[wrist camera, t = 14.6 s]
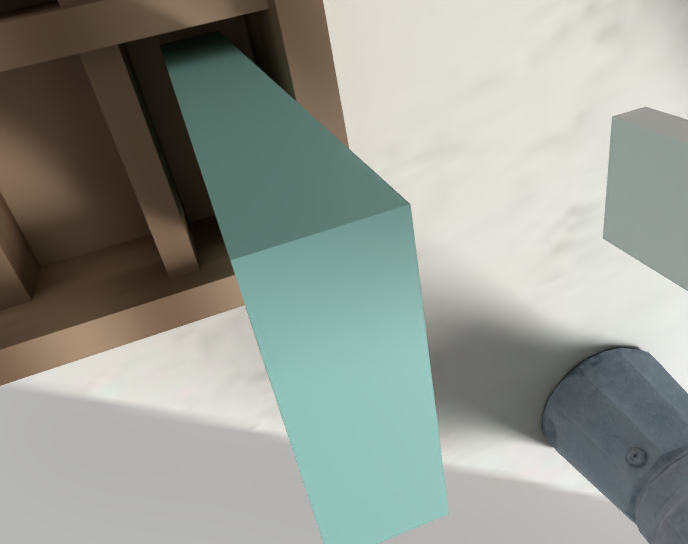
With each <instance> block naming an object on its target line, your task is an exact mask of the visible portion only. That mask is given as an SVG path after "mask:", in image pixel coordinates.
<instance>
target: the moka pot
mask: <svg viewBox="0 0 688 544" xmlns="http://www.w3.org/2000/svg"><path fill="white" fill-rule="evenodd" d="M543 433H544V436H545V437H546V439H547V440H548V441H549V442H550V444H551V445H552V446H553V447H554V448H555V449H556V451H557V452H558V453H559V454H560V455H562V456H563V457H564V458H565V459H566V460H567V461H568V462H569V463H570V464H571V465H572V466H573V467H574V468H576V469H577V470H578V471H579V472H580V473H581V474H582V475H583V476H584V477H585V478H586V479H587V480H588V481H590V482H591V483H592V484H593V485H594V486H595V487H596V488H597V489H598V490H599V491H600V492H601V493H603V494H604V495H605V496H606V497H607V498H608V499H609V500H610V501H611V502H612V503H613V504H614V505H615V506H617V507H618V508H619V509H620V510H621V511H622V512H623V513H624V514H625V515H626V516H627V517H628V518H629V519H630V520H632V521H633V522H634V523H635V524H636V525H637V526H638V528H639V531H640V533H641V534H642V535H643V536H644V538H645V539H646V540H647V541H648V543H649V544H688V394H687V392H686V391H685V390H684V389H683V388H682V387H681V386H680V385H679V384H678V383H677V382H676V381H675V380H674V379H673V378H672V376H671V375H670V374H669V373H668V372H667V371H666V370H665V369H664V368H663V367H662V365H661V364H660V363H659V362H658V361H657V360H656V359H655V358H654V357H653V356H652V355H651V354H650V353H648V352H645V351H642V350H638V349H629V348H622V347H621V348H618V349H612V350H608V351H604V352H602V353H599V354H597V355H595V356H593V357H590V358H589V359H587V360H585V361H583V362H582V363H580V364H579V365H577V366H576V367H575V368H574V369H573V370H572V371H571V372H570V373H569V374H568V375H566V376H565V377H564V378H563V380H562V381H561V382H560V383H559V384H558V385H557V387H556V388H555V390H554V391H553V393H552V394H551V396H550V398H549V400H548V402H547V405H546V408H545V411H544V414H543Z"/></svg>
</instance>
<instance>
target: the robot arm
mask: <svg viewBox="0 0 688 544" xmlns="http://www.w3.org/2000/svg"><path fill="white" fill-rule="evenodd" d="M603 239H605V240H606V241H608V242H610V243H611V244H613V245H614V246H616V247H618V248H619V249H621V250H623V251H624V252H626V253H627V254H629V255H631V256H632V257H634V258H635V259H637V260H639V261H640V262H642V263H643V264H645V265H647V266H648V267H650V268H652V269H653V270H655V271H656V272H658V273H660V274H661V275H663V276H664V277H666V278H668V279H669V280H671V281H673V282H674V283H676V284H677V285H679V286H681V287H682V288H684V289H685V290H687V291H688V120H687V119H683V118H680V117H677V116H674V115H670V114H667V113H664V112H661V111H658V110H654V109H651V108H648V107H643V108H640V109H636V110H633V111H630V112H626V113H623V114H620V115H616V116H613V117H612V125H611V139H610V152H609V165H608V178H607V191H606V204H605V217H604V231H603Z"/></svg>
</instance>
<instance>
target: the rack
mask: <svg viewBox="0 0 688 544" xmlns="http://www.w3.org/2000/svg"><path fill="white" fill-rule="evenodd" d="M215 31H219V32H220V33H221V34H222V35H223V36H224V37H225V38H226V39H227V40H229V41H230V42H231V43H232V44H233V45H234V46H235V47H236V48H237V49H239V50H240V51H241V52H242V53H243V54H244V55H245V56H246V57H247V58H249V59H250V60H251V61H252V62H253V63H254V64H255V65H256V66H257V67H259V68H260V69H261V70H262V71H263V72H264V73H265V74H266V75H267V76H269V77H270V78H271V79H272V80H273V81H274V82H275V83H276V84H277V85H279V86H280V87H281V88H282V89H283V90H284V91H285V92H286V93H287V94H289V95H290V96H291V97H292V98H293V99H294V100H295V101H296V102H297V103H299V104H300V105H301V106H302V107H303V108H304V109H305V110H306V111H307V112H309V113H310V114H311V115H312V116H313V117H314V118H315V119H316V120H317V121H319V122H320V123H321V124H322V125H323V126H324V127H325V128H326V129H327V130H329V131H330V132H331V133H332V134H333V135H334V136H335V137H336V138H337V139H339V140H340V141H341V142H342V143H343V144H344V145H345V146H346V147H347V148H349V146H348V140H347V134H346V129H345V123H344V117H343V112H342V106H341V100H340V95H339V89H338V84H337V78H336V72H335V67H334V61H333V55H332V50H331V44H330V38H329V33H328V27H327V22H326V16H325V10H324V5H323V0H0V385H4V384H7V383H10V382H13V381H16V380H19V379H22V378H25V377H28V376H31V375H34V374H37V373H40V372H43V371H46V370H49V369H52V368H55V367H58V366H61V365H64V364H67V363H70V362H73V361H76V360H79V359H82V358H85V357H89V356H92V355H95V354H98V353H101V352H104V351H107V350H110V349H113V348H116V347H119V346H122V345H125V344H128V343H131V342H134V341H137V340H140V339H143V338H146V337H149V336H152V335H155V334H158V333H161V332H164V331H167V330H170V329H173V328H177V327H180V326H183V325H186V324H189V323H192V322H195V321H198V320H201V319H204V318H207V317H210V316H213V315H216V314H219V313H222V312H225V311H228V310H231V309H234V308H237V307H240V306H243V305H245V303H244V300H243V297H242V294H241V291H240V288H239V285H238V282H237V279H236V276H235V273H234V270H233V267H232V264H231V261H230V258H229V255H228V252H227V249H226V246H225V243H224V240H223V237H222V234H221V231H220V228H219V224H218V221H217V218H216V215H215V212H214V209H213V206H212V203H211V200H210V197H209V194H208V191H207V188H206V185H205V182H204V179H203V176H202V173H201V170H200V167H199V164H198V161H197V158H196V155H195V152H194V149H193V146H192V143H191V139H190V136H189V133H188V130H187V127H186V124H185V121H184V118H183V115H182V112H181V109H180V106H179V103H178V100H177V97H176V94H175V91H174V88H173V85H172V82H171V79H170V76H169V73H168V70H167V67H166V64H165V61H164V58H163V54H162V51H161V48H160V45H161V44H165V43H169V42H174V41H178V40H182V39H186V38H190V37H194V36H199V35H203V34H207V33H211V32H215Z"/></svg>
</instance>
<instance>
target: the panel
mask: <svg viewBox="0 0 688 544" xmlns="http://www.w3.org/2000/svg"><path fill="white" fill-rule="evenodd" d="M160 48H161V51H162V54H163V58H164V61H165V64H166V67H167V70H168V73H169V76H170V79H171V82H172V85H173V88H174V91H175V94H176V97H177V100H178V103H179V106H180V109H181V112H182V115H183V118H184V121H185V124H186V127H187V130H188V133H189V136H190V139H191V143H192V146H193V149H194V152H195V155H196V158H197V161H198V164H199V167H200V170H201V173H202V176H203V179H204V182H205V185H206V188H207V191H208V194H209V197H210V200H211V203H212V206H213V209H214V212H215V215H216V218H217V221H218V224H219V228H220V231H221V234H222V237H223V240H224V243H225V246H226V249H227V252H228V255H229V258H230V261H231V264H232V267H233V270H234V273H235V276H236V279H237V282H238V285H239V288H240V291H241V294H242V297H243V300H244V303H245V306H246V309H247V312H248V315H249V319H250V322H251V325H252V328H253V331H254V334H255V337H256V340H257V343H258V346H259V349H260V352H261V355H262V358H263V361H264V364H265V367H266V370H267V373H268V376H269V379H270V382H271V385H272V388H273V391H274V394H275V397H276V400H277V403H278V406H279V410H280V413H281V416H282V419H283V422H284V425H285V428H286V431H287V434H288V437H289V440H290V443H291V446H292V449H293V452H294V455H295V458H296V461H297V464H298V467H299V470H300V473H301V476H302V479H303V482H304V485H305V488H306V491H307V494H308V497H309V500H310V503H311V506H312V510H313V513H314V516H315V519H316V522H317V525H318V528H319V531H320V534H321V537H322V540H323V543H324V544H378V543H381V542H383V541H386V540H388V539H390V538H393V537H395V536H397V535H400V534H402V533H404V532H407V531H409V530H411V529H414V528H416V527H419V526H421V525H423V524H426V523H428V522H430V521H433V520H435V519H437V518H440V517H442V516H445V515H447V514H449V512H448V504H447V496H446V487H445V480H444V471H443V463H442V455H441V447H440V439H439V431H438V423H437V415H436V407H435V399H434V391H433V383H432V375H431V367H430V359H429V351H428V343H427V335H426V327H425V318H424V310H423V302H422V294H421V286H420V278H419V270H418V262H417V254H416V246H415V238H414V230H413V222H412V214H411V206H410V203H409V202H407V201H406V200H405V199H404V198H403V197H402V196H401V195H400V194H399V193H397V192H396V191H395V190H394V189H393V188H392V187H391V186H390V185H389V184H387V183H386V182H385V181H384V180H383V179H382V178H381V177H380V176H379V175H377V174H376V173H375V172H374V171H373V170H372V169H371V168H370V167H369V166H367V165H366V164H365V163H364V162H363V161H362V160H361V159H360V158H359V157H357V156H356V155H355V154H354V153H353V152H352V151H351V150H350V149H349V148H347V147H346V146H345V145H344V144H343V143H342V142H341V141H340V140H339V139H337V138H336V137H335V136H334V135H333V134H332V133H331V132H330V131H329V130H327V129H326V128H325V127H324V126H323V125H322V124H321V123H320V122H319V121H317V120H316V119H315V118H314V117H313V116H312V115H311V114H310V113H309V112H307V111H306V110H305V109H304V108H303V107H302V106H301V105H300V104H299V103H297V102H296V101H295V100H294V99H293V98H292V97H291V96H290V95H289V94H287V93H286V92H285V91H284V90H283V89H282V88H281V87H280V86H279V85H277V84H276V83H275V82H274V81H273V80H272V79H271V78H270V77H269V76H267V75H266V74H265V73H264V72H263V71H262V70H261V69H260V68H259V67H257V66H256V65H255V64H254V63H253V62H252V61H251V60H250V59H249V58H247V57H246V56H245V55H244V54H243V53H242V52H241V51H240V50H239V49H237V48H236V47H235V46H234V45H233V44H232V43H231V42H230V41H229V40H227V39H226V38H225V37H224V36H223V35H222V34H221V33H220V32H219V31H215V32H211V33H207V34H203V35H199V36H194V37H190V38H186V39H182V40H178V41H174V42H169V43H165V44H161V45H160Z"/></svg>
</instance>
